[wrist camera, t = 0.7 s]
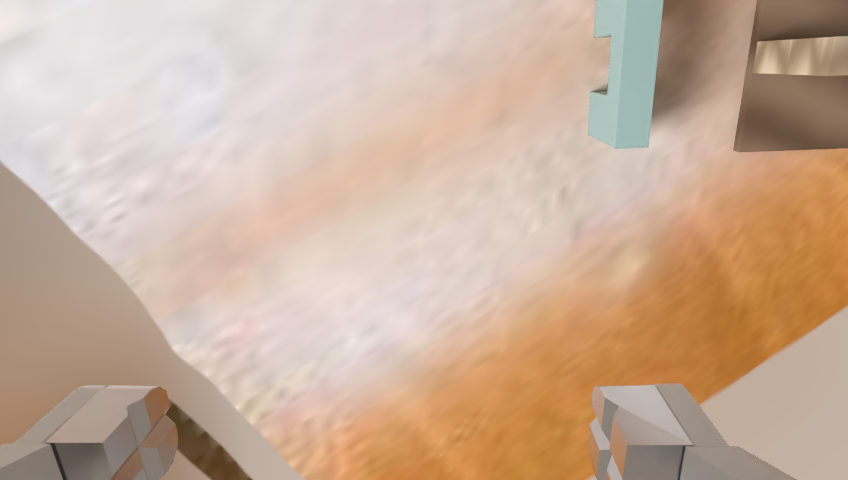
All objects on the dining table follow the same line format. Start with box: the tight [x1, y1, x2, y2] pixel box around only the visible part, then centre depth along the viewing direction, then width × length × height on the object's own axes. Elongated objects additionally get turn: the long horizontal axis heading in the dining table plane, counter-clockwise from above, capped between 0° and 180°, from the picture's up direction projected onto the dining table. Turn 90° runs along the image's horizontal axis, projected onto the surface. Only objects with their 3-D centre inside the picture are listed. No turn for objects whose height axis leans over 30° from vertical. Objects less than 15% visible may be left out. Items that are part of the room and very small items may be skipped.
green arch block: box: [588, 0, 664, 149], centre depth 40 cm, size 12×2×8 cm, turn 3°
